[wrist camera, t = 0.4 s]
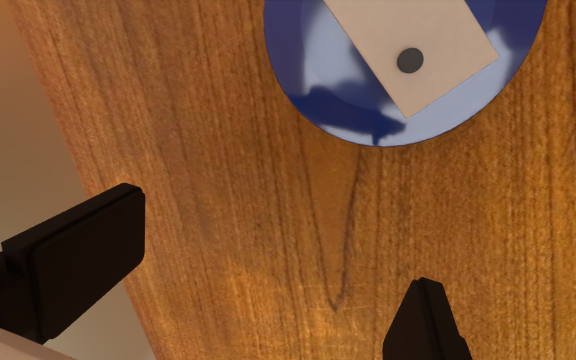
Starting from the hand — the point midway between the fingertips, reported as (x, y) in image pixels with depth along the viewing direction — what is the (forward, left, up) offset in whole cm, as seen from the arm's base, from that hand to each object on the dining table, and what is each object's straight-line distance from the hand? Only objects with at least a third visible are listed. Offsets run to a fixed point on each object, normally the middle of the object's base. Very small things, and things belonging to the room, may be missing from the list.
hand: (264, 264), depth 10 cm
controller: (-7, +7, -13) cm, 16 cm away
